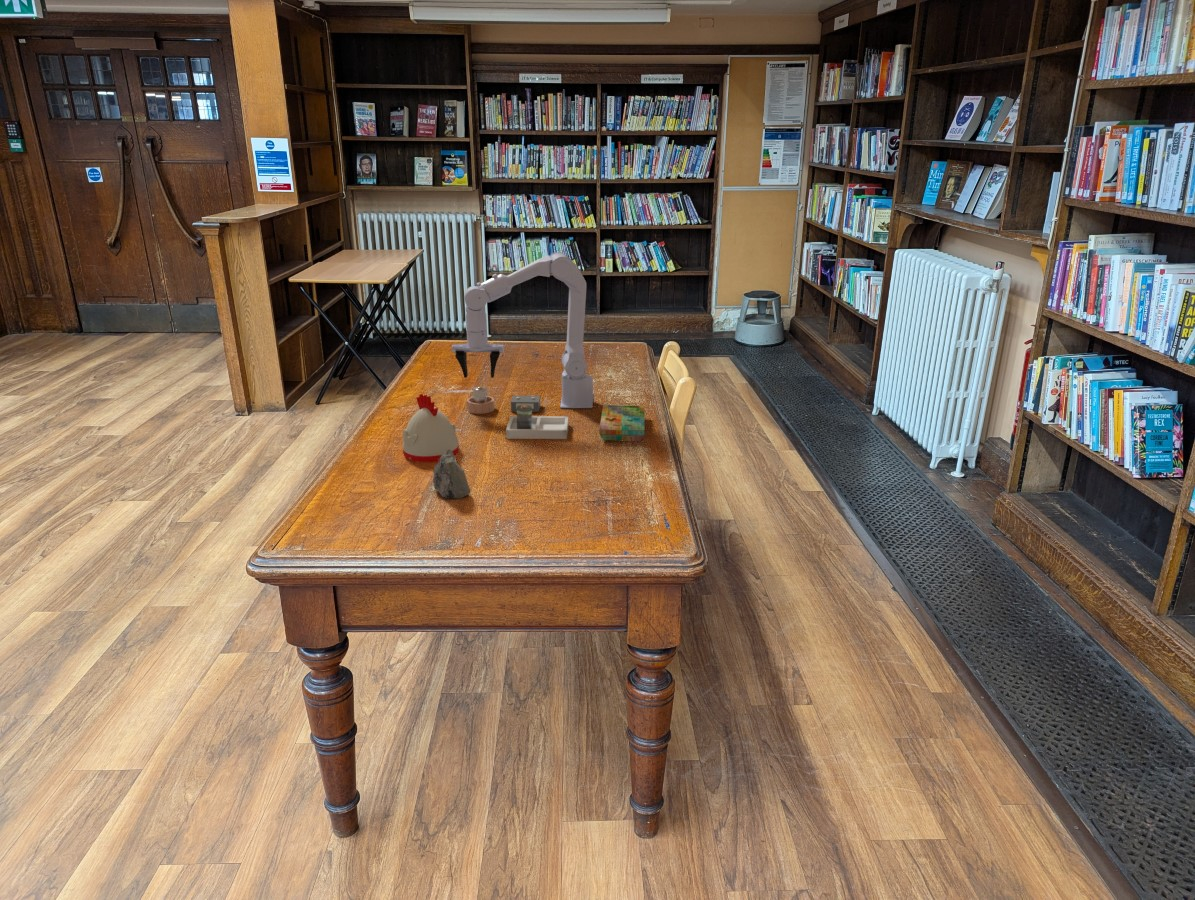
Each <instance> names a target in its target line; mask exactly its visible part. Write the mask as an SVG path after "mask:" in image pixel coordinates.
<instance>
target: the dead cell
mask: <svg viewBox="0 0 1195 900" xmlns="http://www.w3.org/2000/svg"><path fill="white" fill-rule="evenodd" d="M487 389H488V388H487V386H484V385H483V386H482V385H479V386H475V387H472V397H473V403H487V396H488V390H487Z"/></svg>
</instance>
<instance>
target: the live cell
mask: <svg viewBox="0 0 1195 900" xmlns="http://www.w3.org/2000/svg"><path fill="white" fill-rule="evenodd" d="M532 413H533V412H532V407H531V406H529V405H519V406H517V412H516V416H517V429H532V416H533V414H532Z"/></svg>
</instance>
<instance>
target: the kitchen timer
mask: <svg viewBox="0 0 1195 900" xmlns="http://www.w3.org/2000/svg"><path fill="white" fill-rule="evenodd" d="M418 396H419V397H416V398H415V399H416V402H417V405H418V408H419V410H417V411H416V412H415V413H414V414H413V416H412V417H411V418H410V420H409V421H408V424H407V426H406V428H405V429H403V430H402V440H403V441H402V454H404V455H403V457H404V456H405V457H406V458H405V457H404V458H405V459H406V460H409V461H411V460H412V462H416V461H417V463H436V462H438V463H439V461H440V457H441V456H442V454H443V453H444V452H445V451H447V450H449V449H450V450H451V451H452V452H453V454H454V456H455V457H456V455H458V454H459V451H460V446H459V445H460V443H459V439H458V436H457V434H456V426H455V425H456V424H455V423H451V421H450V419H448V418H449V417H447V416H446V415H445V414H444V413H443V412H442V411H440V410H439V407H435V401H432V399H431V397H432V396H431V395H429V396H428V395H427V394H423V393H420V394H418Z"/></svg>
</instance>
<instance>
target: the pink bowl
mask: <svg viewBox="0 0 1195 900" xmlns="http://www.w3.org/2000/svg"><path fill="white" fill-rule="evenodd" d="M495 407H496V406H495V398H494V397H493V396H490V395H487V403H473V396H471V397H468V398H467V399H466V409H467V412H469V414H470V413H471V414H476V415H481V414H483V415H484V414H490V413H492V412H494V411H495Z"/></svg>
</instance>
